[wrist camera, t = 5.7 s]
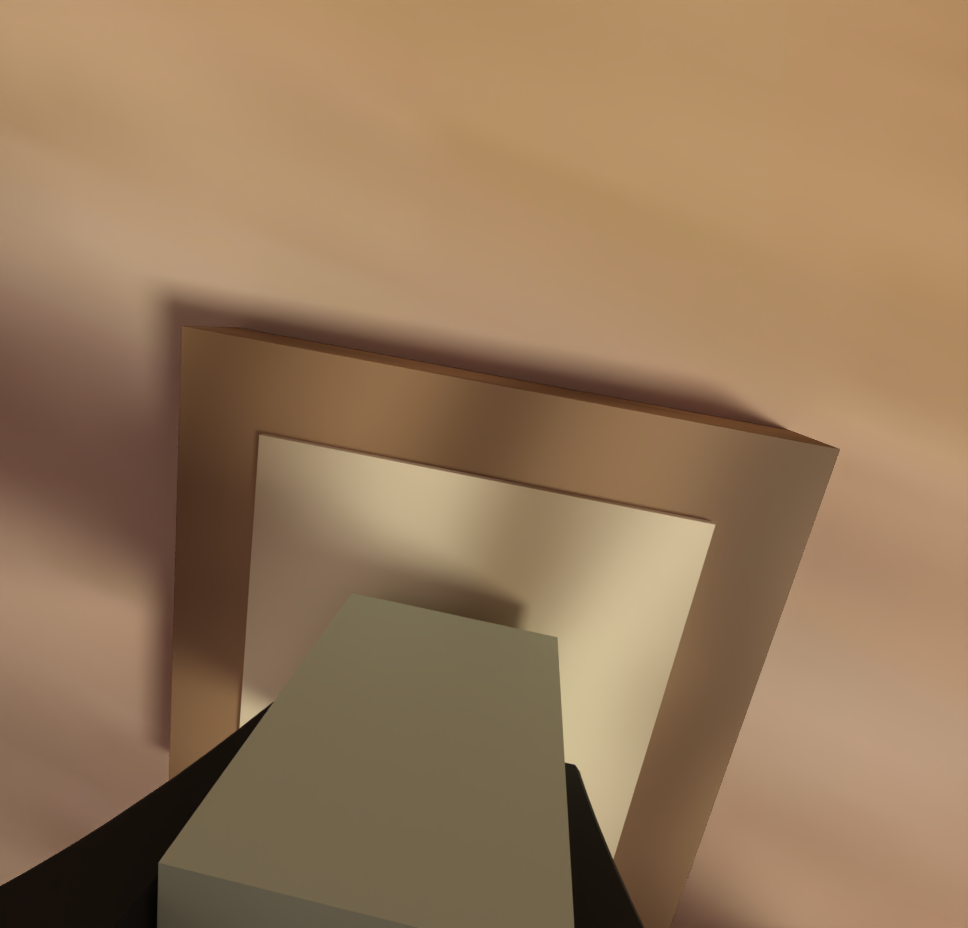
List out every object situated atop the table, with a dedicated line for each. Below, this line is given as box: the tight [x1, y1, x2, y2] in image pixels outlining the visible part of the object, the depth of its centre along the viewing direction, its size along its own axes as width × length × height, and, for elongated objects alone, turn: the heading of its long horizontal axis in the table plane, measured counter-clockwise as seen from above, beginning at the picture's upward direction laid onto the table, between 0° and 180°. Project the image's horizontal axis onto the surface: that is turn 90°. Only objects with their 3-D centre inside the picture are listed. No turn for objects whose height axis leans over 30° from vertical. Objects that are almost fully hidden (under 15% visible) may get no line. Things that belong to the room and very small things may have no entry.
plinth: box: [169, 326, 840, 928], centre depth 14 cm, size 14×14×2 cm
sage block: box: [157, 593, 574, 928], centre depth 9 cm, size 4×4×6 cm
